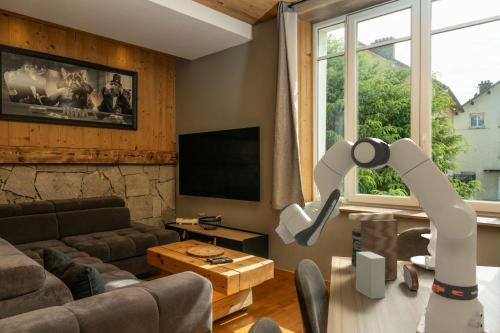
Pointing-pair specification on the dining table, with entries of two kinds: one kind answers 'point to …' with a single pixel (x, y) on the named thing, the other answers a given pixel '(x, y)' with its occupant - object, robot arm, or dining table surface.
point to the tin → (411, 277)
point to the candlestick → (427, 260)
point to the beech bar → (370, 216)
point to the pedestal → (370, 274)
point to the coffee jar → (356, 244)
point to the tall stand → (381, 242)
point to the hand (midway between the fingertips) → (335, 201)
